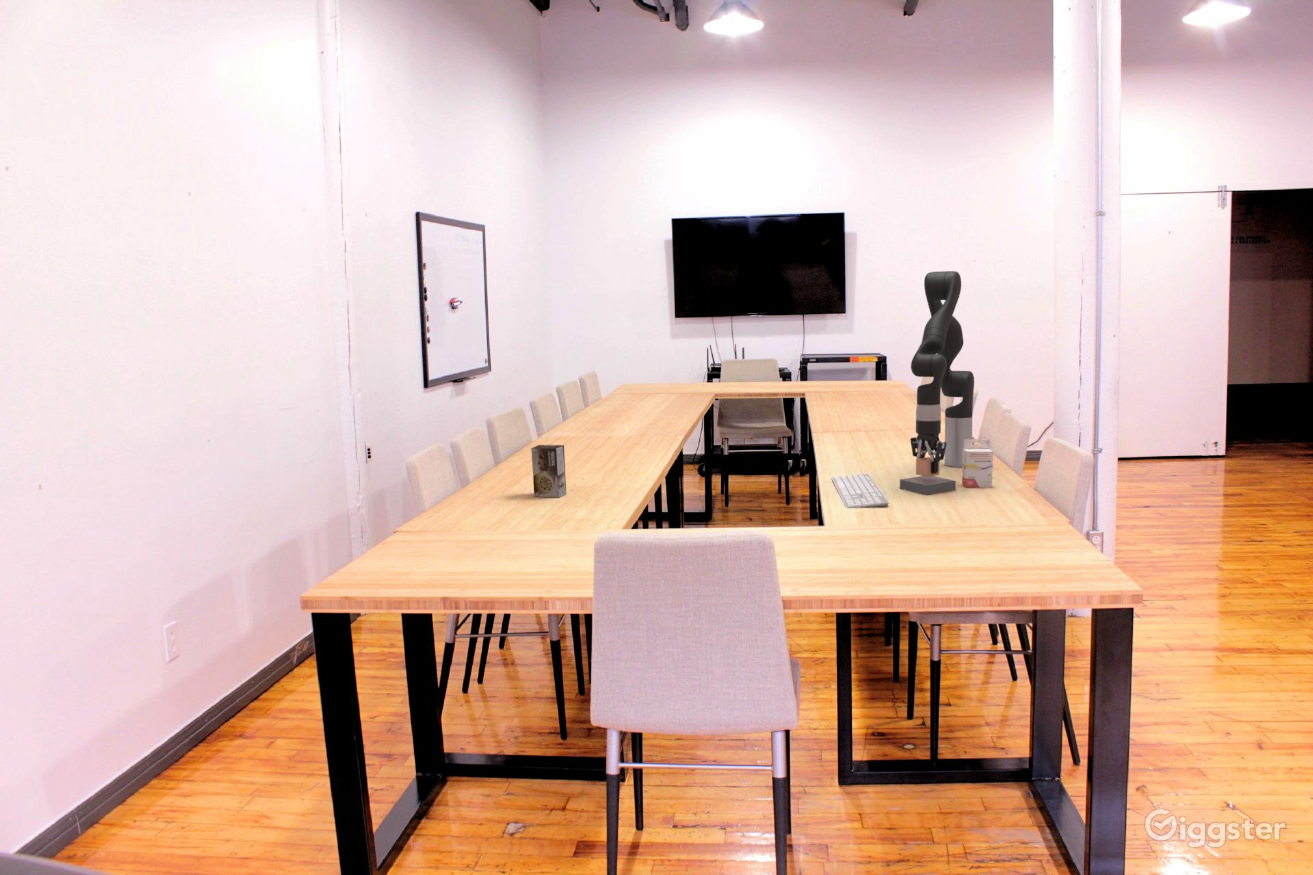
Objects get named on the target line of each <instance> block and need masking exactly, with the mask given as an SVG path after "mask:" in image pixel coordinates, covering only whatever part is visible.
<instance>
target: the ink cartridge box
mask: <svg viewBox="0 0 1313 875" xmlns="http://www.w3.org/2000/svg"><path fill="white" fill-rule="evenodd" d="M972 443H974V445H972ZM976 443H978V444H976ZM990 444H991V441H990V439H987V438H985V439H983V438H981V439H977V438H974V439H971V440H966V439H965V440H964V449H963V464H962V467H961V468H962V471H961V472H962V474H961V485H962V486H963V487H964V488H993V471H994V470H993V469H994V468H993V467H994V463H993V461H994V451H993V450H992V449H990Z"/></svg>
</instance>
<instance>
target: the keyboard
mask: <svg viewBox="0 0 1313 875" xmlns="http://www.w3.org/2000/svg"><path fill="white" fill-rule="evenodd" d="M831 480H832V482H833V485H834V487H835V488H836V491H837V492H838V494H839V497H840V499H841V500H843V501H842V503H843V502H844V503H843V505H844V507H845V508H846V507H847V508H846V509H855V508H856V509H859V508H858V507H861V508H860V509H863V507H864V508H865V507H866V508H874V507H877V508H881V506H882V508H885V507H888V506H889V500H888V499H887V498H886V497H885V495H884V493H883V492H882V491H881V489H880V488H879V487H878V485H877V483H876V482H875V480H873V477H872V476H871V475H870V473H869V472H868V473H867V472H866V473H861V474H851V475H849V474H848V475H842V476H841V475H840V476H833V477H831Z"/></svg>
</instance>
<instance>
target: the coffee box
mask: <svg viewBox="0 0 1313 875" xmlns="http://www.w3.org/2000/svg"><path fill="white" fill-rule="evenodd" d="M530 449H531V450H530V451H531V463H532V464H531V465H532V480H533V482H532V484H533V497H534V498H561V497H563V496H565V495H567V476H566V463H565V462H566V458H565V445H564V444H563V445H562V444H538V445H535V446H534V447H532V448H530Z"/></svg>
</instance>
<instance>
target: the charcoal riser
mask: <svg viewBox="0 0 1313 875" xmlns="http://www.w3.org/2000/svg"><path fill="white" fill-rule="evenodd" d="M956 485H957V481H956V480H954V479H949V478H944V477H940V476H937V475H936V476H929V477H926V476H921V475H918V476H914V477H906V478H900V479H899V489H900V490H904V489H905V491H909V492H913V493H916V492H917V493H916V494H921V495H924V494H925V496H928V495H936V494H940V493H941V492H942V493H947V492H955V491H956V490H957V486H956ZM942 493H941V494H942Z"/></svg>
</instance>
